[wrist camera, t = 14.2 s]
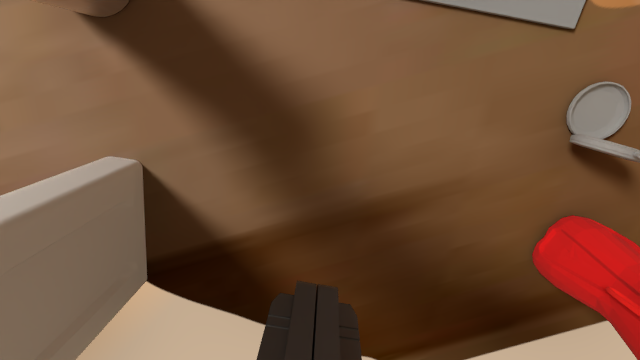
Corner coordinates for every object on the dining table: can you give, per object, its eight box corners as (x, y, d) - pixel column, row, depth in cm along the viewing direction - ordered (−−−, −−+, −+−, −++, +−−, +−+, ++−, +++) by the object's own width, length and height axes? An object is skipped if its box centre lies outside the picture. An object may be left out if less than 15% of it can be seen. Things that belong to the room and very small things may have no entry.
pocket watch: (622, 73, 35) (730, 73, 26) (624, 143, 38) (722, 166, 28) (547, 96, 36) (623, 104, 27) (553, 163, 39) (625, 191, 29)
